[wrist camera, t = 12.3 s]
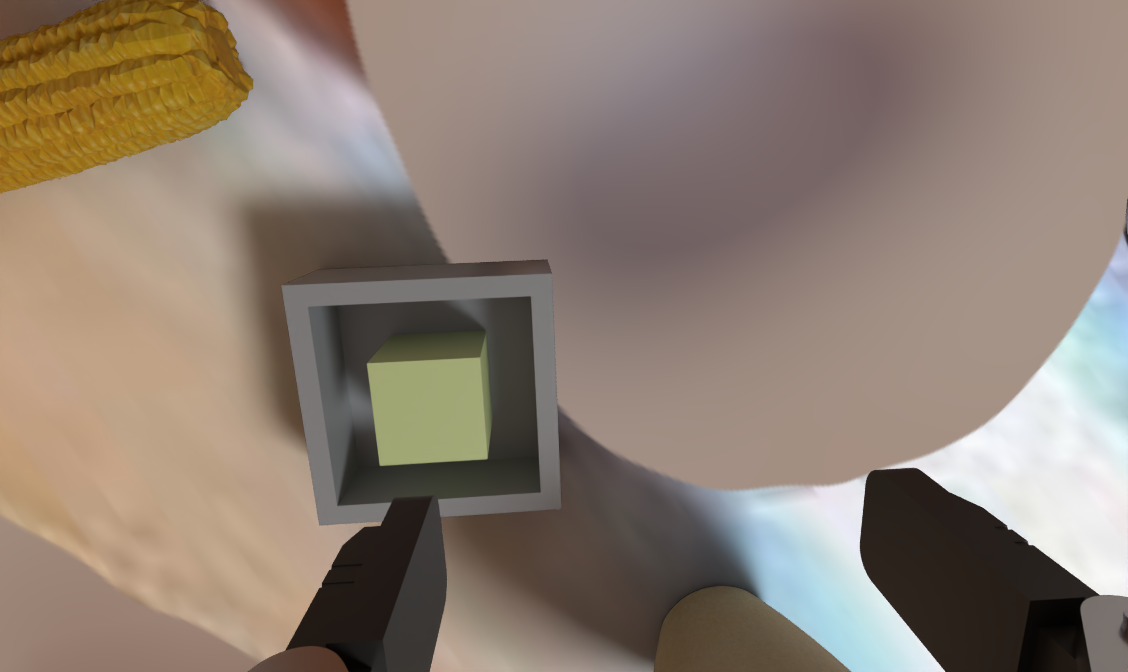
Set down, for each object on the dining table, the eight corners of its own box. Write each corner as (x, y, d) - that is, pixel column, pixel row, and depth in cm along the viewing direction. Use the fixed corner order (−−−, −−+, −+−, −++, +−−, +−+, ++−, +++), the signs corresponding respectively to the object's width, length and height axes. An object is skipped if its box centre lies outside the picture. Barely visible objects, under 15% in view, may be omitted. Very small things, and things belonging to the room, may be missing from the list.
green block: (486, 330, 31) (479, 357, 26) (492, 418, 33) (487, 459, 28) (391, 335, 31) (366, 363, 26) (400, 423, 32) (379, 465, 27)
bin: (547, 259, 32) (551, 273, 27) (556, 463, 35) (561, 509, 30) (318, 269, 31) (281, 285, 26) (348, 476, 34) (319, 525, 29)
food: (232, -2, 28) (156, -51, 22) (283, 119, 29) (225, 103, 23) (-186, 139, 28) (-370, 128, 22) (-114, 252, 29) (-269, 269, 24)
